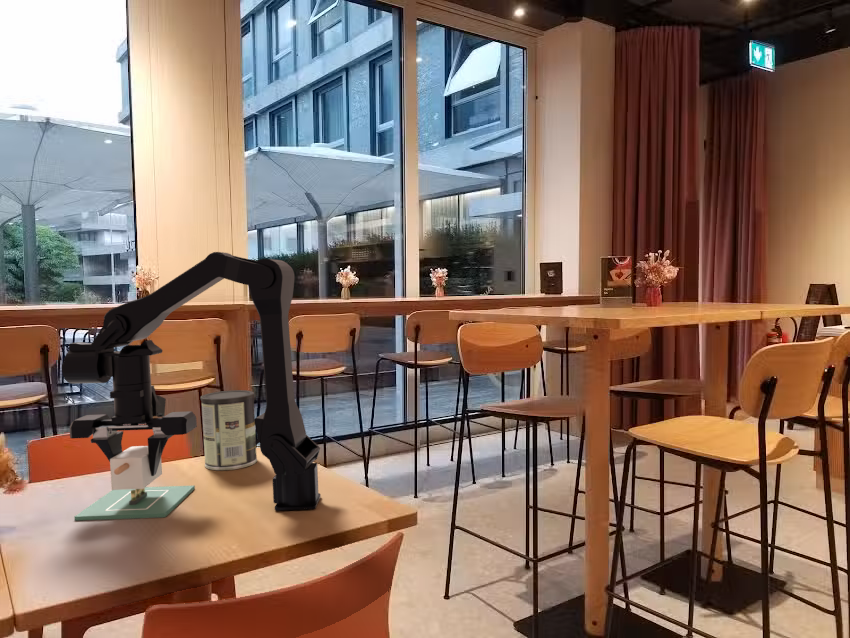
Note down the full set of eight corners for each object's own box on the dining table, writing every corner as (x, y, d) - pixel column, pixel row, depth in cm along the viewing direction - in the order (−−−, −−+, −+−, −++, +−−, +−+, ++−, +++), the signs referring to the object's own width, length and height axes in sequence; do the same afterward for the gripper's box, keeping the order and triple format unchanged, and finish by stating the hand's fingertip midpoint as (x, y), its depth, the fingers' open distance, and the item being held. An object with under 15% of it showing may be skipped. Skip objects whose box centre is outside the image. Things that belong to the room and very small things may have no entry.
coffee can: (238, 453, 139) (235, 388, 139) (267, 461, 133) (264, 392, 132) (193, 465, 132) (190, 395, 131) (222, 473, 125) (219, 400, 124)
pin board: (194, 488, 116) (194, 473, 116) (165, 517, 102) (164, 499, 102) (115, 491, 116) (114, 475, 116) (74, 520, 102) (73, 502, 102)
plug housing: (162, 474, 113) (160, 445, 112) (133, 495, 101) (132, 464, 101) (132, 475, 113) (131, 446, 112) (101, 497, 101) (99, 465, 101)
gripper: (204, 373, 116) (208, 460, 117) (98, 377, 116) (103, 464, 117) (182, 383, 105) (187, 479, 106) (65, 387, 104) (71, 483, 105)
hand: (137, 475), depth 109 cm, fingers closed on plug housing, 5 cm apart
